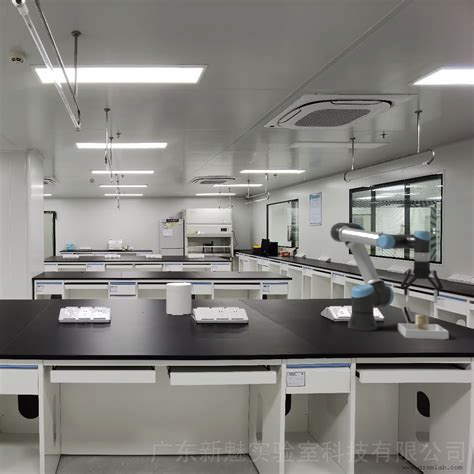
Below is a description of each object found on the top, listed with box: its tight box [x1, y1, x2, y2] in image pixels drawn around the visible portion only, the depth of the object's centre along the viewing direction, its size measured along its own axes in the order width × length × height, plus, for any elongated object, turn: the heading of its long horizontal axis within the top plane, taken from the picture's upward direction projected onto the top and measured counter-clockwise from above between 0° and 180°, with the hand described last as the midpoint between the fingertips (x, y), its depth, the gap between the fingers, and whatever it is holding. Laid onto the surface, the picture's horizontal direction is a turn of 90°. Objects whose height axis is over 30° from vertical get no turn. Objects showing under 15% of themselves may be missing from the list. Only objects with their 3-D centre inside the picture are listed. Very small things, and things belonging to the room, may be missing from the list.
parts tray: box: [397, 322, 450, 340], centre depth 220 cm, size 20×18×4 cm
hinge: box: [401, 305, 416, 324], centre depth 259 cm, size 17×5×10 cm, turn 158°
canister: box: [165, 282, 192, 315], centre depth 278 cm, size 16×16×20 cm
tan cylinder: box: [415, 313, 429, 330], centre depth 220 cm, size 5×5×9 cm
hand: (421, 302), depth 221 cm, fingers open, 13 cm apart
